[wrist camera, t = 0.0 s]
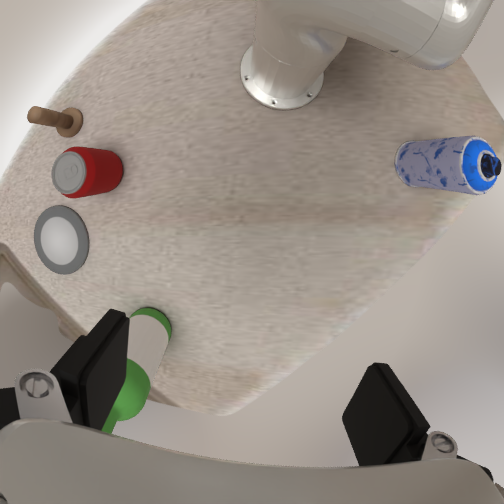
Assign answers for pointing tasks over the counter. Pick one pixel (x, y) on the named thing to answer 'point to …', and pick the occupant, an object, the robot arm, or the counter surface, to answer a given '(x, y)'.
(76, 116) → the stand post
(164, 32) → the counter surface
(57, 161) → the beverage can
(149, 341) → the wine bottle
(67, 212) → the pad
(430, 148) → the aerosol can
